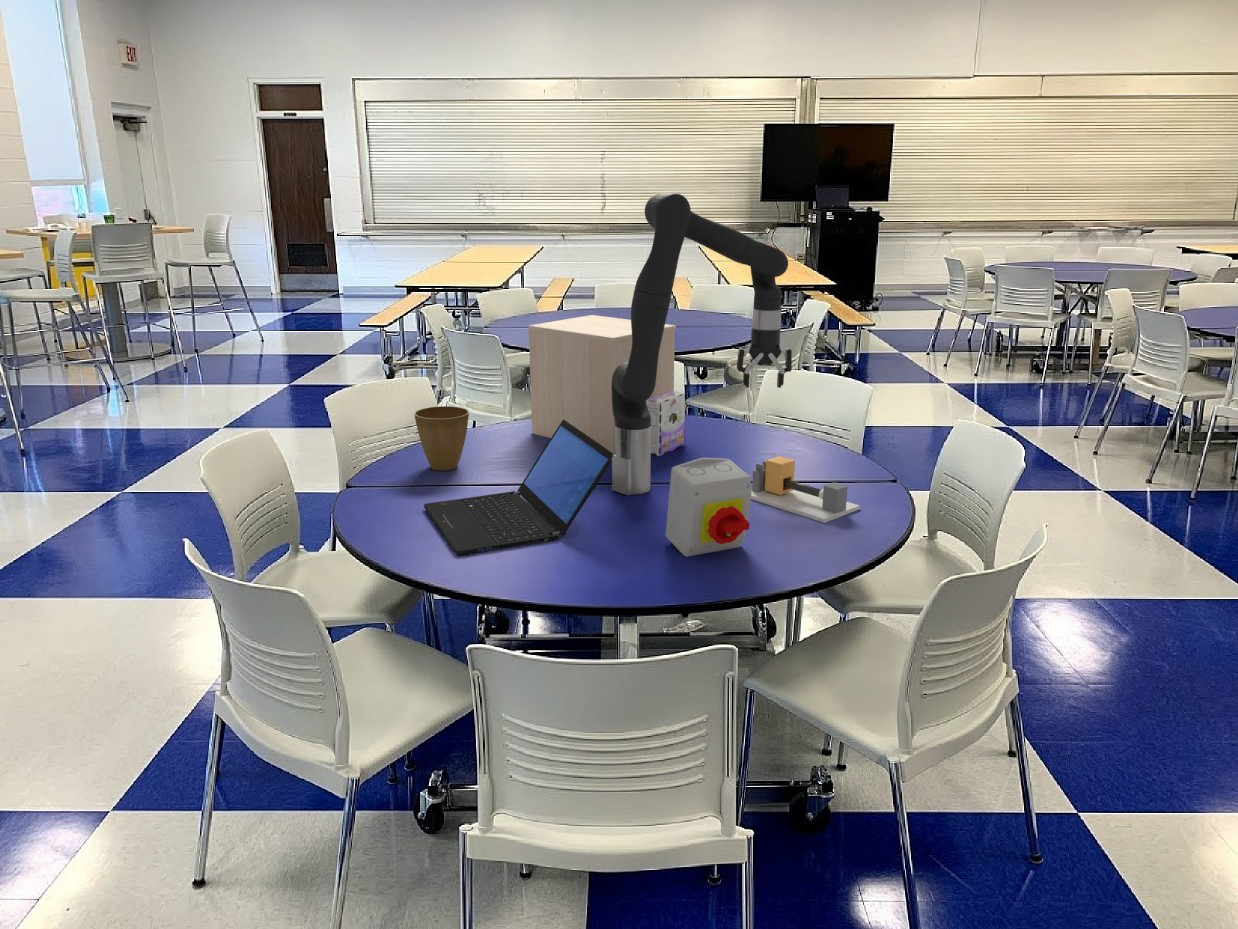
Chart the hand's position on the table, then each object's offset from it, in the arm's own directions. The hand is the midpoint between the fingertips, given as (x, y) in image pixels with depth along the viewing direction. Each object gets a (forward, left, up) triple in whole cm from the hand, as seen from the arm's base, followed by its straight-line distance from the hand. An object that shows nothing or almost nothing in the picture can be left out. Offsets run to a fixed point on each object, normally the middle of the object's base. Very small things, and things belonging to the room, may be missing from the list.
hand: (763, 387), depth 251 cm
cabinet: (-5, +60, -25) cm, 65 cm away
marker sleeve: (-11, -16, -23) cm, 29 cm away
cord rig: (-11, -23, -24) cm, 35 cm away
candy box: (-3, +34, -25) cm, 42 cm away
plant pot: (-61, +63, -25) cm, 91 cm away
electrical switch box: (-50, -29, -25) cm, 62 cm away
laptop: (-70, +15, -25) cm, 76 cm away
